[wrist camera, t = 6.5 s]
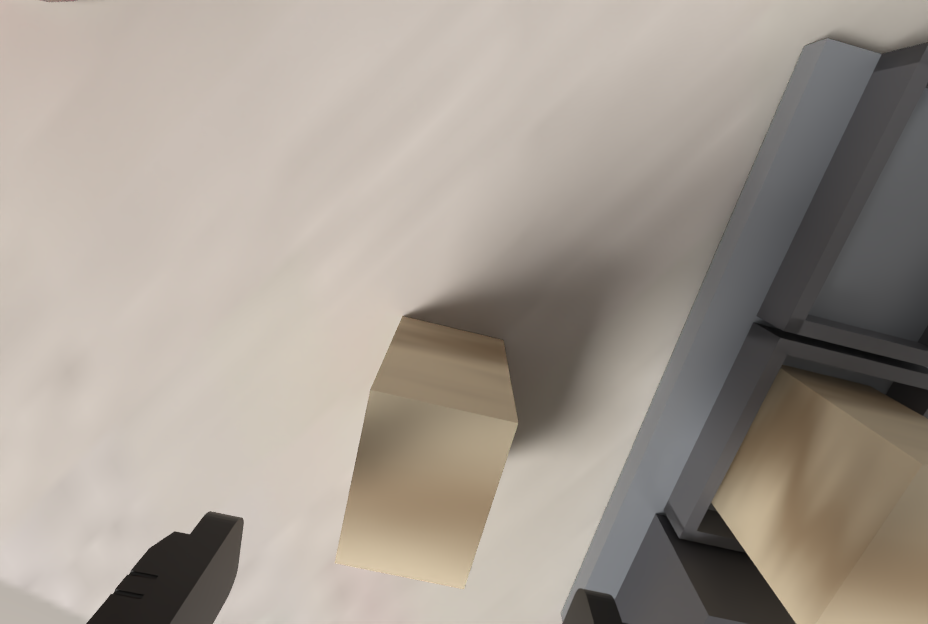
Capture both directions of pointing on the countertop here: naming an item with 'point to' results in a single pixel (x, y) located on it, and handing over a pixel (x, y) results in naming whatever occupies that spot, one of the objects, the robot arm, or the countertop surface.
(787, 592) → the block
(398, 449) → the loose billet
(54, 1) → the soda can
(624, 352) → the countertop surface
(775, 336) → the grey compartment tray
